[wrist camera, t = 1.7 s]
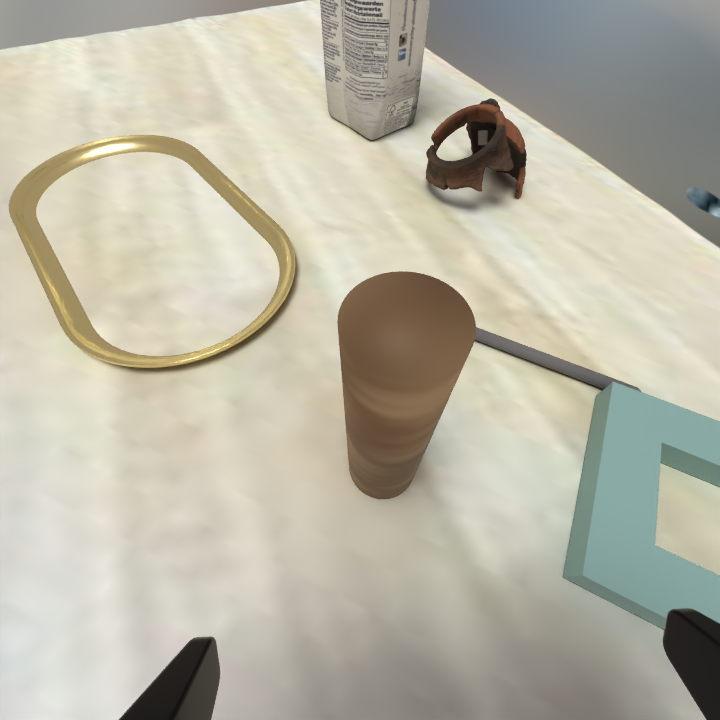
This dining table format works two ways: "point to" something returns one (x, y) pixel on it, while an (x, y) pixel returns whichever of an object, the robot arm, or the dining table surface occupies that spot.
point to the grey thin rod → (546, 360)
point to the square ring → (639, 505)
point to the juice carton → (373, 62)
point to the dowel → (398, 372)
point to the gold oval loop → (57, 281)
